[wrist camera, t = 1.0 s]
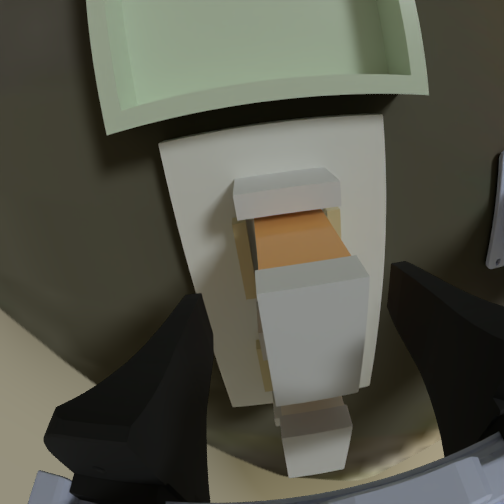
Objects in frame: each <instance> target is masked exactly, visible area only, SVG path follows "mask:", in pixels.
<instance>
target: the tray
mask: <svg viewBox="0 0 504 504" xmlns="http://www.w3.org/2000/svg"><path fill="white" fill-rule="evenodd" d="M86 6H87V17H88V26H89V35H90V43H91V51H92V58H93V64H94V71H95V77H96V83H97V89H98V94H99V100H100V105H101V110H102V115H103V120H104V125H105V129H106V134H107V135H110V134H113V133H117V132H120V131H123V130H127V129H131V128H134V127H138V126H142V125H146V124H149V123H153V122H157V121H162V120H166V119H170V118H174V117H179V116H184V115H188V114H193V113H198V112H203V111H208V110H214V109H219V108H225V107H231V106H237V105H244V104H250V103H257V102H265V101H273V100H282V99H291V98H302V97H314V96H328V95H347V94H420V95H429V90H428V80H427V71H426V63H425V55H424V48H423V42H422V36H421V30H420V24H419V19H418V14H417V9H416V5H415V0H86Z"/></svg>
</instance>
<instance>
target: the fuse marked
mask: <svg viewBox="0 0 504 504" xmlns="http://www.w3.org/2000/svg"><path fill="white" fill-rule="evenodd" d="M252 224H253V230H254V236H255V242H256V249H257V259H258V270H255V281H256V295H257V301H258V306H259V312H260V318H261V323H262V329H263V335H264V341H265V346H266V352H267V358H268V363H269V369H270V375H271V380H272V386H273V392H274V397H275V403H276V407H277V406H284V405H291V404H298V403H305V402H311V401H317V400H322V399H328V398H333V397H338V396H343V395H348V394H353V393H357V392H359V385H360V378H361V370H362V362H363V354H364V345H365V335H366V325H367V313H368V299H369V283H370V276H369V274H368V273H367V271H366V270H365V268H364V266H363V265H362V263H361V262H360V260H359V259H358V257H357V255H354V256H351V254H350V253H349V251H348V250H347V248H346V246H345V245H344V243H343V242H342V240H341V238H340V237H339V235H338V234H337V232H336V231H335V229H334V228H333V226H332V224H331V223H330V221H329V220H328V218H327V217H326V215H325V214H324V212H323V211H322V209H316V210H308V211H301V212H294V213H286V214H279V215H272V216H265V217H259V218H252Z"/></svg>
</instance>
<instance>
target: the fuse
mask: <svg viewBox="0 0 504 504" xmlns="http://www.w3.org/2000/svg"><path fill="white" fill-rule="evenodd" d="M281 413H282V416H280V426H281V436H282V442H283V448H284V454H285V459H286V465H287V470H288V476H289V478H294V477H301V476H307V475H314V474H320V473H325V472H331V471H336V470H341V469H344V467H345V462H346V458H347V453H348V448H349V443H350V438H351V433H352V428H353V425H352V421H351V418H350V414H349V410H348V407H347V405H344V402H343V399H342V396H338V397H333V398H328V399H322V400H317V401H311V402H305V403H298V404H291V405H284V406H281Z"/></svg>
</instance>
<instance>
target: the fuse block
mask: <svg viewBox="0 0 504 504" xmlns="http://www.w3.org/2000/svg"><path fill="white" fill-rule="evenodd" d="M158 145H159V150H160V154H161V159H162V163H163V168H164V172H165V177H166V181H167V185H168V189H169V194H170V198H171V202H172V206H173V210H174V214H175V218H176V222H177V226H178V230H179V234H180V238H181V241H182V245H183V249H184V253H185V256H186V260H187V264H188V267H189V271H190V274H191V278H192V281H193V285H194V288H195V292H196V294H197V293H202V297H203V300H204V304H205V307H206V311H207V314H208V318H209V321H210V325H211V328H212V331H213V340H214V354H215V357H216V360H217V363H218V366H219V369H220V372H221V375H222V378H223V381H224V384H225V387H226V390H227V393H228V395H229V398H230V401H231V404H232V407H241V406H252V405H261V404H269V403H273V408H274V419H275V424H276V426H280V416H282V413H281V406H277V407H276V403H275V397H274V392H273V386H272V380H271V375H270V369H269V363H268V358H267V352H266V346H265V341H264V335H263V329H262V323H261V318H260V312H259V306H258V301H257V295H256V281H255V270H258V259H257V249H256V242H255V236H254V230H253V224H252V218H259V217H265V216H272V215H279V214H286V213H294V212H301V211H308V210H316V209H322V211H323V212H324V214H325V215H326V217H327V218H328V220H329V221H330V223H331V224H332V226H333V228H334V229H335V231H336V232H337V234H338V235H339V237H340V238H341V240H342V242H343V243H344V245H345V246H346V248H347V250H348V251H349V253H350V254H351V256H354V255H357V257H358V259H359V260H360V262H361V263H362V265H363V266H364V268H365V270H366V271H367V273H368V274H369V276H370V283H369V299H368V313H367V325H366V335H365V345H364V354H363V362H362V370H361V378H360V385H359V388H362V387H367V386H369V385H370V379H371V374H372V368H373V361H374V355H375V348H376V340H377V333H378V325H379V316H380V306H381V296H382V285H383V271H384V255H385V231H386V165H385V142H384V126H383V115H382V114H376V113H367V114H346V115H331V116H318V117H307V118H297V119H288V120H279V121H271V122H264V123H257V124H250V125H243V126H237V127H230V128H225V129H219V130H213V131H208V132H202V133H197V134H192V135H187V136H183V137H178V138H173V139H169V140H164V141H162V142H160V143H159V144H158Z"/></svg>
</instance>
